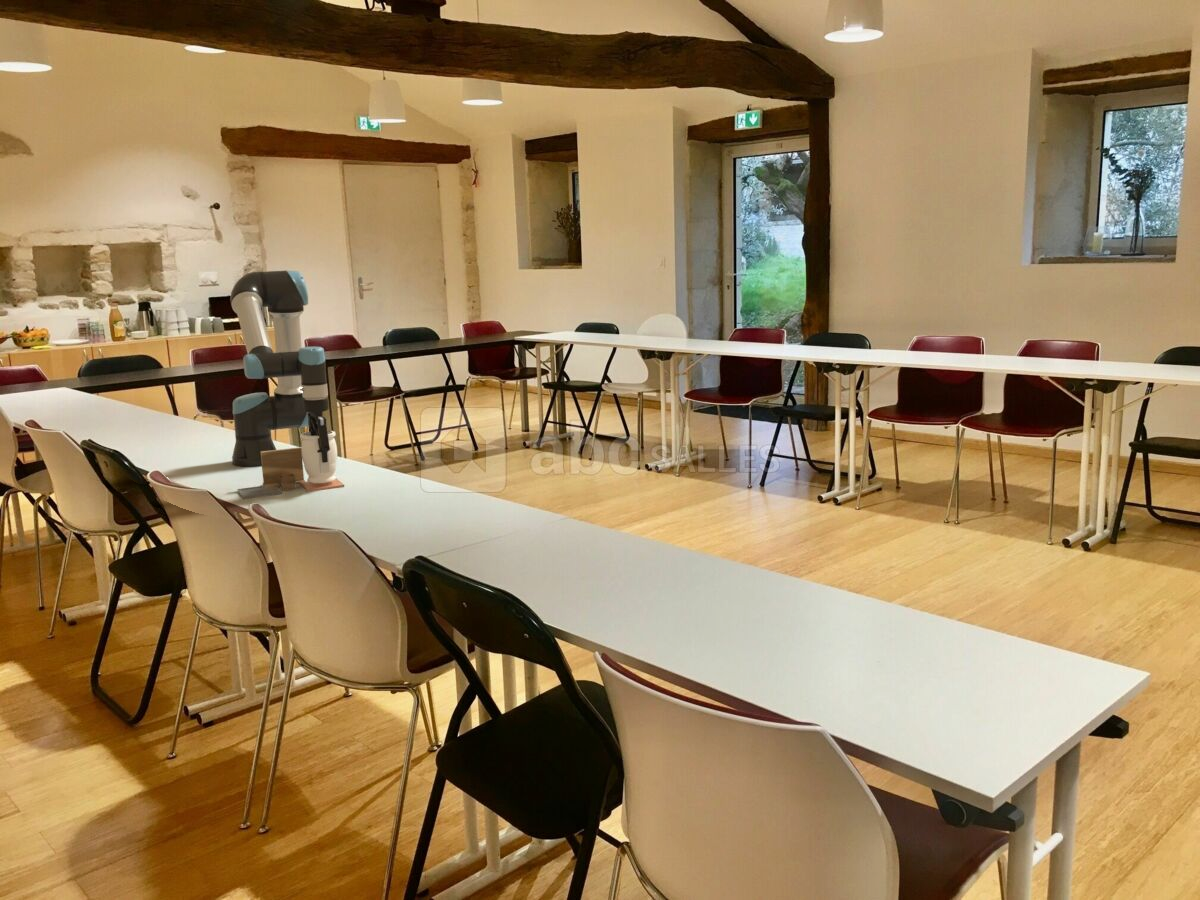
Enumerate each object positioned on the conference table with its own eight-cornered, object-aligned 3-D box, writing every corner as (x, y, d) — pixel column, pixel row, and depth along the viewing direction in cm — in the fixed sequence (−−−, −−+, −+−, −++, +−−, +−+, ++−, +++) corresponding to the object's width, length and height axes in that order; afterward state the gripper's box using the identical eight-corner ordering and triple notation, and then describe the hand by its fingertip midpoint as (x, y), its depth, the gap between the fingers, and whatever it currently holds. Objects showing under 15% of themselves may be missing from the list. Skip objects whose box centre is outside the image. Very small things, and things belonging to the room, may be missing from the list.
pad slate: (237, 491, 304) (237, 489, 304) (274, 486, 309) (274, 484, 309) (243, 498, 294) (243, 496, 294) (281, 493, 299) (281, 491, 299)
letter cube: (280, 487, 307) (278, 473, 306) (293, 486, 308) (292, 472, 307) (282, 490, 303) (281, 476, 302) (295, 488, 305) (294, 474, 304)
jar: (343, 476, 313) (340, 429, 310) (332, 484, 303) (328, 436, 300) (311, 476, 314) (307, 430, 311) (298, 484, 304) (294, 436, 301)
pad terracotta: (300, 484, 311) (300, 482, 311) (335, 479, 316) (335, 477, 316) (308, 491, 301) (308, 489, 301) (344, 486, 306) (344, 484, 306)
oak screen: (262, 485, 310) (259, 450, 308) (301, 480, 316) (299, 446, 314) (265, 488, 306) (262, 453, 304) (305, 483, 312) (302, 449, 309)
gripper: (294, 394, 311) (300, 463, 316) (311, 404, 291) (317, 478, 296) (319, 392, 314) (324, 460, 319) (336, 402, 295) (342, 474, 299)
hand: (320, 468), depth 308 cm, fingers closed on jar, 10 cm apart
